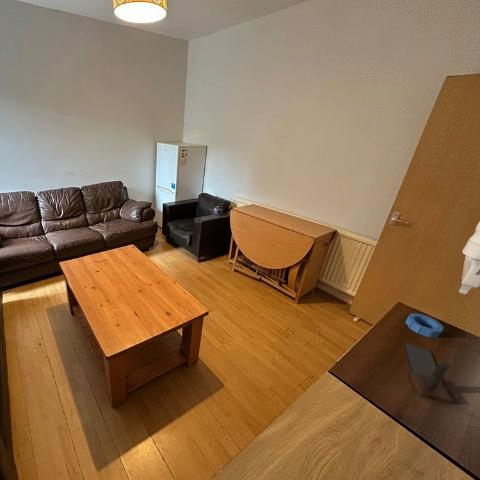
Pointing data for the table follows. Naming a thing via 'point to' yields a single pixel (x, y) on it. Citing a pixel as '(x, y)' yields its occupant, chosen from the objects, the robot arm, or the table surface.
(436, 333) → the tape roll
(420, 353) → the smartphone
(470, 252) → the robot arm
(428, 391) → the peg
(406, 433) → the table surface
